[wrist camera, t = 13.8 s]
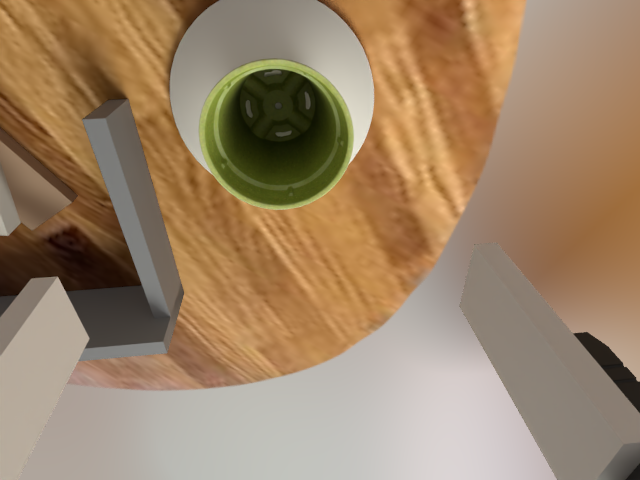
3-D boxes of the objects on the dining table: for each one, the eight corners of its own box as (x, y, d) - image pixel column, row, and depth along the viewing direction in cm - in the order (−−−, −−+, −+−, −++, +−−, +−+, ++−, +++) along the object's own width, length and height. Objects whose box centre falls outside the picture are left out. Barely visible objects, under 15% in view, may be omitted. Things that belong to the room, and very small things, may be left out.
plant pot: (235, 169, 34) (225, 221, 27) (199, 50, 28) (175, 76, 21) (342, 149, 34) (360, 196, 27) (326, 27, 28) (344, 44, 21)
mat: (146, -10, 27) (144, -10, 26) (378, -16, 28) (380, -16, 27) (194, 199, 36) (193, 202, 35) (367, 187, 37) (369, 190, 36)
